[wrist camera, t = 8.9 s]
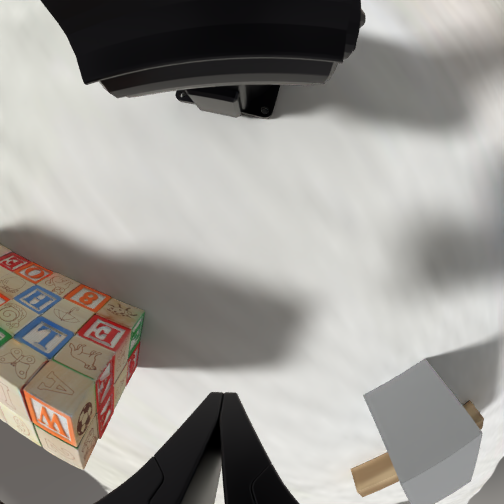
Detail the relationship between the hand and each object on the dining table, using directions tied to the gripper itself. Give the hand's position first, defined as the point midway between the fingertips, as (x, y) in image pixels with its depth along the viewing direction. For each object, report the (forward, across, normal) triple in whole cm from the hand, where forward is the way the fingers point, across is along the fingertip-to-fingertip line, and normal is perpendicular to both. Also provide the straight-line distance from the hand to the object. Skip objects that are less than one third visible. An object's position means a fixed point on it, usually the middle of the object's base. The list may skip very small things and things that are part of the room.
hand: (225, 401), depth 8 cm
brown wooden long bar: (+12, -22, +24) cm, 35 cm away
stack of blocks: (+12, +18, +2) cm, 22 cm away
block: (+12, -18, +17) cm, 27 cm away
